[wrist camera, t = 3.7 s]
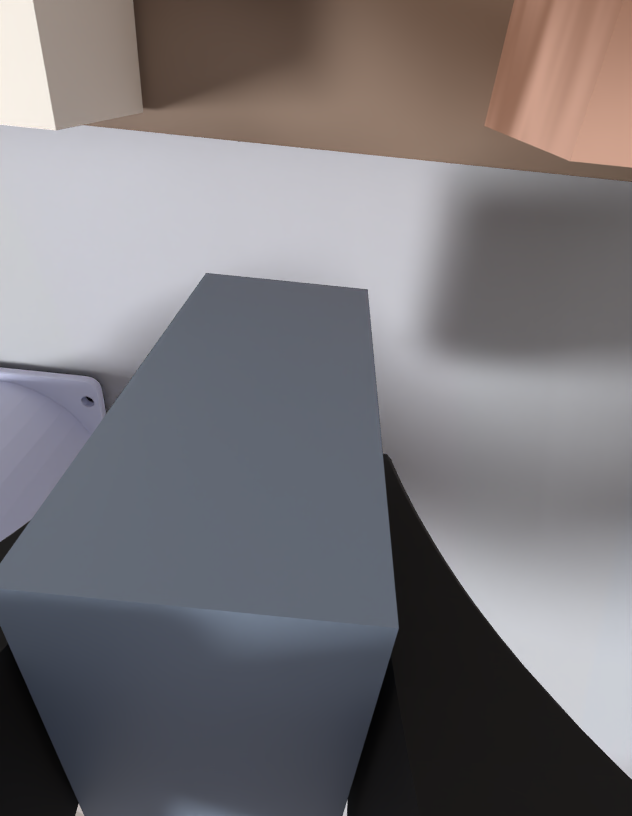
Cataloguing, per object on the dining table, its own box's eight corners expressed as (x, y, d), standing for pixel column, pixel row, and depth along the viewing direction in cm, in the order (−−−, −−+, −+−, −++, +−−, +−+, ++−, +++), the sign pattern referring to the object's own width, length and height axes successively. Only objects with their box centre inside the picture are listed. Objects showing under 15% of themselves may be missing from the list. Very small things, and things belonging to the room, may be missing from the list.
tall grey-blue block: (337, 493, 14) (328, 863, 8) (213, 480, 14) (95, 841, 8) (367, 289, 11) (399, 628, 4) (206, 273, 11) (-17, 587, 4)
